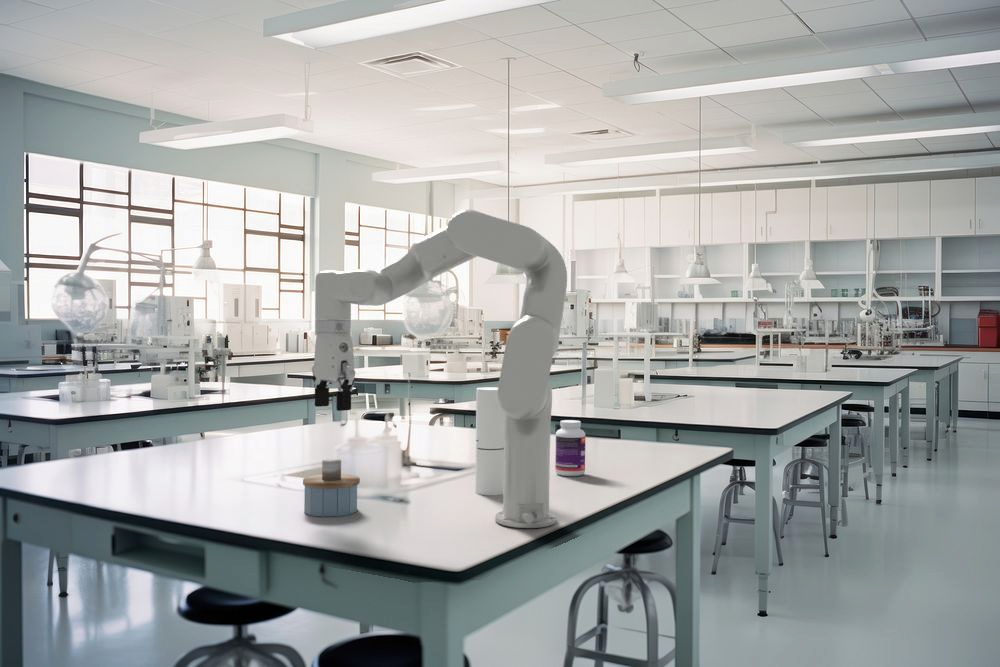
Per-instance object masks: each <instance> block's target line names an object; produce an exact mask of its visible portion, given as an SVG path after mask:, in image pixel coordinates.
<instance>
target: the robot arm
mask: <svg viewBox="0 0 1000 667" xmlns="http://www.w3.org/2000/svg"><path fill="white" fill-rule="evenodd" d="M477 257H478V258H482V259H484V260H488V261H491V262H494V263H497V264H501V265H503V266H507V267H511V268H514V270H515V269H516V270H519V271H521V272H523V273H524V274H525V278H526V284H525V289H524V293H523V296H522V297H523V298H522V305H521V306H522V307H521V311H520V315H519V320H517V321H516V322H515V323H514V324H513V326H512V327H511V328H510V330H509V332H508V335H507V338H506V342H505V346H504V351H503V357H502V358H503V359H502V364H501V367H500V368H501V369H500V375H499V380H498V386H497V388H498V402H499V404H500V407H501V408H502V410H503V411H504V412H505V428H504V476H503V494H502V498H503V499H502V510H501V511H499V512H497V513H496V514H495V516H494V517H495V519H494V520H495V522H496V523H497V524H500V525H501V526H504V527H505V526H506V527H511V528H517V529H518V528H519V529H538V528H540V529H541V528H545V527H550V526H552V525H554V524H556V523H557V515H556V514H554V513H553V512H550V473H551V472H550V469H551V468H550V465H551V464H550V462H551V425H552V424H551V423H552V422H551V421H552V420H551V419H552V410H553V409H552V406H553V390H552V386H551V385H552V384H551V383H550V381H549V380H550V374H551V370H552V369H551V368H552V364H553V358H554V355H555V354H556V352H557V350H558V348H559V344H560V336H561V326H562V320H563V314H564V309H565V308H564V307H565V301H566V300H565V299H566V295H567V294H566V293H567V288H568V287H567V286H568V271H567V266H566V262H565V260H564V258H563V256H562V254H561V252H560V251H559V250H558V249H557V248H556V246H555V245H553V244H552V243H551V242H550V241H549V240H548V239H546V238H545V237H544V236H543V235H542V234H540V233H539V232H537V231H536V230H534V229H533V228H531V227H529V226H526V225H523V224H520V223H517V222H512V221H510V220H506V219H503V218H499V217H496V216H492V215H489V214H486V213H483V212H481V211H478V210H475V209H463V210H460V211H458V212H456V213H454V215H452V216H451V218H450V219H449V221H448V223H447V225H446V226H443V227H442V228H439V229H437V230H435V231H434V232H431V233H429V234H427V235H425V236H424V237H422V238H419V239H417V240H415V241H414V243H412V246H411V247H410V249H409V251H408V252H407V253H406V254H405V255H403V257H401V258H400V259H398V260H396V261H394V262H392V263H391V264H389V265H385V267H383V268H380V269H378V270H376V271H375V270H371V269H356V270H349V271H341V270H322V271H319V272H317V274H316V276H315V283H314V284H315V288H314V290H315V291H314V292H315V293H314V294H315V295H314V297H315V298H314V300H315V301H314V303H315V304H314V310H315V312H314V318H315V319H314V335H315V336H316V337H315V346H314V347H315V348H314V362H313V363H314V364H313V366H312V367H311V373H312V380H313V382H314V383H313V388H314V407H316V408H317V407H328V406H330V387H328V386H329V383H330V382H331V383H335V386H336V387H337V389H338V390H337V391H335V392H336V394H335V395H336V399H335V402H336V403H335V404H336V406H335V407H336V408H335V409H336V411H339V412H342V411H350V410H352V392H353V389H354V388H353V386H354V384H355V376H356V371H355V358H354V347H353V346H354V345H353V339H352V333H351V332H352V331H351V330H352V320H351V319H352V314H351V313H352V306H351V305H358V306H374V307H375V306H381V305H385V304H388V303H390V302H393V301H394V300H396V299H398V298H401V297H403V296H404V295H407V294H409V293H411V292H413V291H414V290H416V289H417V288H420V287H421V286H422V285H425V284H426V283H428V282H430V281H431V280H433V279H434V278H436V277H438V276H440V275H442V274H444V273H446V272H448V271H450V270H452V269H454V268H456V267H458V266H460V265H463V264H464V263H467V262H468V261H471V260H473V259H475V258H477Z"/></svg>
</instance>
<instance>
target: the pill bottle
mask: <svg viewBox="0 0 1000 667" xmlns="http://www.w3.org/2000/svg"><path fill="white" fill-rule="evenodd" d="M559 423H560V425H559V426H560V429H557V430H556V432H555V458H554V460H555V464H554V468H555V469H554V471H555V473H556V474H557V475H559V476H563V477H579V476H582V475H584V474H585V473H586V432H585V431H584V430H583V429H582V428H581V425H582V422H581V421H580V420H575V419H564V420H560V422H559Z"/></svg>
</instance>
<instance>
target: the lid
mask: <svg viewBox="0 0 1000 667" xmlns="http://www.w3.org/2000/svg"><path fill="white" fill-rule="evenodd" d="M321 465H322V469H321V474H315V475H310V476H306V477H304V478H303V479H302V485H303V486H304V487H305V486H307V487H311V488H321V489H335V488H346V487H351V486H355V485H357V486H358V485H359V484H360V482H361V478H360V477H359V476H358V475H353V474H348V473H347V474H346V473H342V459H336V458H327V459H323V460H322V461H321Z"/></svg>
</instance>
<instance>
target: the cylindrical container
mask: <svg viewBox="0 0 1000 667" xmlns="http://www.w3.org/2000/svg"><path fill="white" fill-rule="evenodd" d="M475 397H476V398H475V399H476V400H475V402H476V404H475V410H476V411H475V421H476V422H475V475H474V476H475V481H474V482H475V483H474V484H475V486H474V490H475V492H474V493H475V494H477V495H483V496H499V495H503V476H504V428H505V412H504V411H503V410H502V408H501V407H500V404H499V402H498V386H497V387H494V386H493V387H490V386H489V387H476V394H475Z"/></svg>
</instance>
